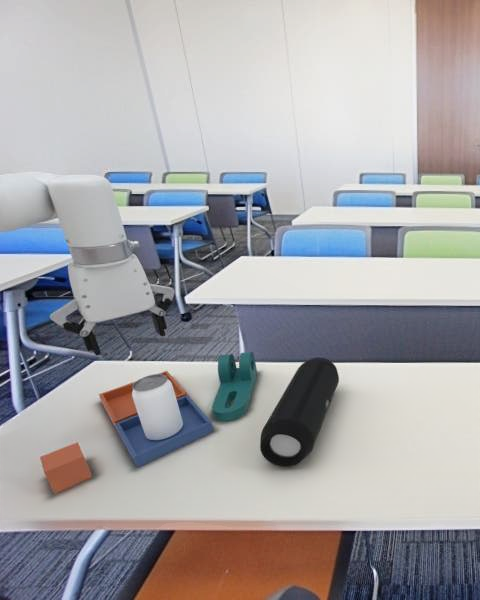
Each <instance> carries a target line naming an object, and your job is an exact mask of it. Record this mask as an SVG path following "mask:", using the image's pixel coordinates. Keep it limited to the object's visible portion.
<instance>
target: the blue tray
mask: <svg viewBox="0 0 480 600" xmlns="http://www.w3.org/2000/svg"><path fill="white" fill-rule="evenodd" d="M177 403H178V407H179V410H180V414H181V417H182V421H183V426H182V428H181V429H180V431H179V432H178V433H177V434H175V435H174V436H172V437H170V438H167V439H164V440H159V441H154V440H150V439H148V438H147V437H146V436H145V433H144V430H143V427H142V424H141V421H140V418H139V415H136V416H133V417H131V418H128V419H126V420H123V421H120V422H118V423H115V425H116V428H117V430H116V431H117V433H118V435H119V437H120V439H121V440H122V443H123V445H124V446H125V448H126V450H127V452H128V453H129V456H130V457H131V460H132V461H133V462H134V465H135V466H136V468H139V467H142V466H144V465H147V463H149V462H152V461H154V460H156V459H159V458H161V457H163V456H164V455H167V454H169V453H172V452H173V451H176V449H180V448H181V447H184V446H186V445H189V444H190V443H192V442H195V441H196V440H199V439H200V438H203V437H205V436H207V435H209V434H211V433H213V432H214V429H213V425H212V421H211V420H210V418H208V417H207V416H206V414H205V413H204V412H203V411H202V410H201V409H200V407H199V406H198V405H197V403H196V402H194V400H193V399H192V398H191V397H190V396H189V395H188V394H187V395H186V396H184V397H181V398H179V399H177ZM116 428H115V429H116Z"/></svg>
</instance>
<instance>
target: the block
mask: <svg viewBox="0 0 480 600" xmlns="http://www.w3.org/2000/svg"><path fill="white" fill-rule="evenodd" d="M39 460H40V462H41V466H42V469H43V473H44V476H45V477H46V479H47V481H48V483H49V485H50V488H51V490H52V492H53V493H54V495H56V494H59V493H61V492H63V491H65V490H67V489H69V488H71V487H74V486H75V485H78V484H80V483H82V482H85V481H87V480H90V479H91V478H93V476H92V472H91V470H90V467H89V465H88V463H87V461H86V458H85V456H84V453H83V451H82V448H81V446H80V443H79V442H78V441H76V442H73V443H71V444H68V445H66V446H64V447H62V448H58V449H56V450H54V451H51V452H49V453H47V454H44V455H42V456H39Z"/></svg>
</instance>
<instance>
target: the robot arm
mask: <svg viewBox="0 0 480 600" xmlns="http://www.w3.org/2000/svg"><path fill="white" fill-rule="evenodd" d="M56 219H58V222H59V225H60V227H61V230H62V233H63V236H64V239H65V242H66V244H67V248H68V251H69V253H70V256H71V259H72V262H70V263H68V264H67V272H68V278H69V283H70V284H69V285H70V287H71V291H72V295H73V299H72V300H70V301H68V302H67V303H66V304H64V305H63V306H61V307H59V308H58V309H57V310H55V311H53V312H52V313H50V315H49V318H50V320H51V321H53V322H54V323H55V324H57V325H58V326H59V327H61V328H62V329H64V330H65V331H67V332H70V333H74V334H76V335H80V337H81V338H82V341H83V343H84V346H85V348H86V351H87V352H91V351H92V352H93V354H94V355H95V356H101V354H102V352H101V350H100V349H101V348H100V346H99V343H98V341H97V337H96V336H95V335H96V334H95V333H94V332H93V331H92V330H93V329H94V328H95V326H96V324H97V323H101V322H106V321H111V320H114V319H115V320H116V319H118V318H119V319H120V318H123V317H126V316H131V315H135V314H138V313H142V312H146V311H149V312H151V315H150V316H151V319H152V322H153V325H154V329H155V332H156V333H157V334H158V336H160V337H165V336H166V332H165V330H168V326H167V323H166V318H165V316H166V312H167V311H168V309H169V308H170V306H171V305H172V304H173V299H174V297H175V293H176V290H175V289H174V288H173V287H171V286H165V285H159V284H154V283H150V282H149V279H148V277H147V274H146V271H145V270H144V267H143V266H142V263H141V262H140V260H139V258H138V256H137V255H136V254H134V253H133V252H134V250H135V251H136V250H137V249H141V246H140V243H139V240H130V239H128V238H127V235H126V231H125V227H124V224H123V221H122V216H121V213H120V209H119V206H118V203H117V200H116V196H115V192H114V190H113V186H112V183H111V182H110V181H109V179H108V178H106V177H104V176H102V175H99V174H89V173H88V174H86V173H79V174H58V173H51V172H46V171H36V170H35V171H33V170H32V171H31V170H30V171H19V172H10V173H3V174H0V233H4V232H12V231H16V230H20V229H24V228H25V227H30V226H33V225H36V224H40V223H41V224H42V223H45V222H49V221H53V220H56ZM154 293H156V294H163V296H162V298H161V300H160V301H159V302H158V304H156V301H155V296H154ZM77 310H78V312H79V314H80V316H82V318H81V319H80V321H79V323H77V322H74V321H71V320H70V319H68V318H67V317H68V316H70V315H71V314H72V313H74V312H75V311H77Z"/></svg>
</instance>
